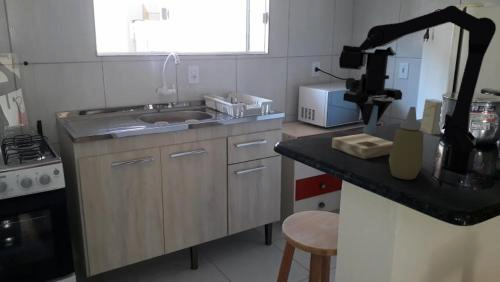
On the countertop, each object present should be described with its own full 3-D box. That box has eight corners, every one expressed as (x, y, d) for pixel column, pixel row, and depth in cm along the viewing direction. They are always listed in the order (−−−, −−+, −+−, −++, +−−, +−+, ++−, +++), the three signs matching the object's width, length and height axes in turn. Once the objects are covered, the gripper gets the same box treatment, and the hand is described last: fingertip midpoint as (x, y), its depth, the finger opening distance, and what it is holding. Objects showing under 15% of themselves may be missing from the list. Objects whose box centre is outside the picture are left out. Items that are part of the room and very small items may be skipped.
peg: (377, 133, 123) (380, 106, 121) (369, 134, 121) (372, 107, 119) (369, 130, 126) (371, 104, 124) (360, 131, 124) (363, 105, 122)
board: (396, 152, 127) (397, 143, 126) (363, 159, 120) (364, 149, 119) (363, 142, 138) (364, 133, 137) (331, 147, 131) (332, 138, 130)
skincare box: (419, 131, 157) (424, 99, 154) (429, 130, 158) (434, 98, 155) (431, 135, 151) (436, 102, 148) (441, 134, 152) (446, 101, 149)
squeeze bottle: (381, 175, 106) (389, 106, 102) (396, 169, 112) (404, 103, 107) (411, 184, 101) (422, 111, 96) (425, 177, 106) (436, 107, 102)
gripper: (376, 67, 130) (371, 116, 134) (332, 69, 121) (328, 121, 125) (406, 71, 121) (399, 123, 125) (360, 73, 112) (355, 129, 116)
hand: (370, 124), depth 123 cm, fingers closed on peg, 3 cm apart
